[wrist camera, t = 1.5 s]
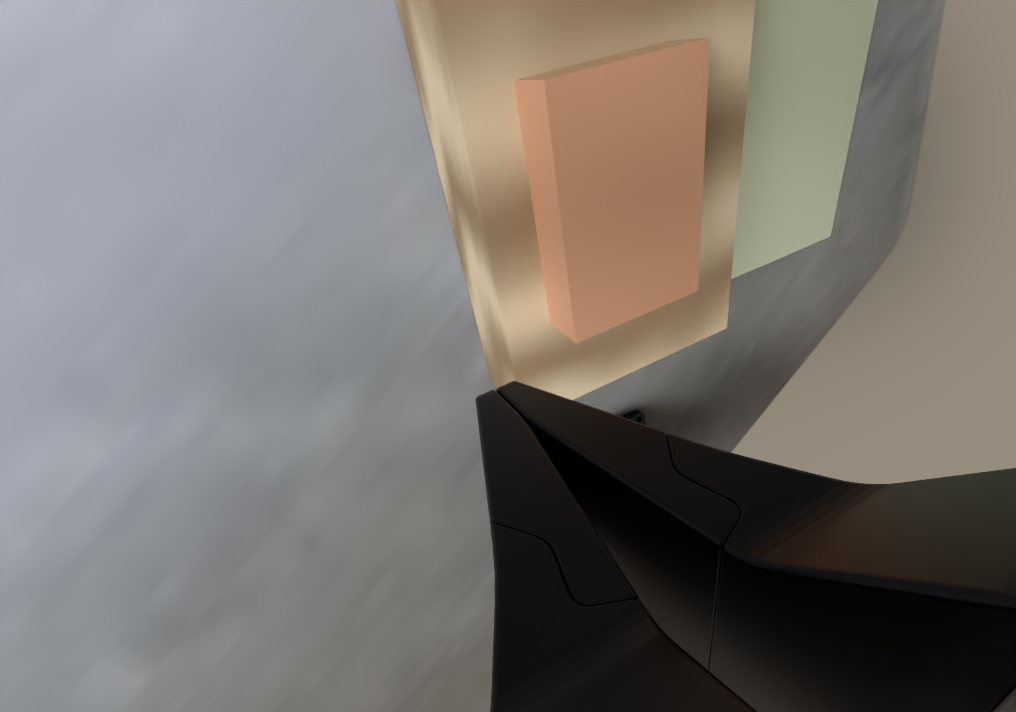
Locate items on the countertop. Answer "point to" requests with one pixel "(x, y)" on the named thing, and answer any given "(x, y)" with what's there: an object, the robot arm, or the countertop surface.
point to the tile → (617, 181)
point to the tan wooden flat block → (504, 177)
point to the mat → (797, 123)
